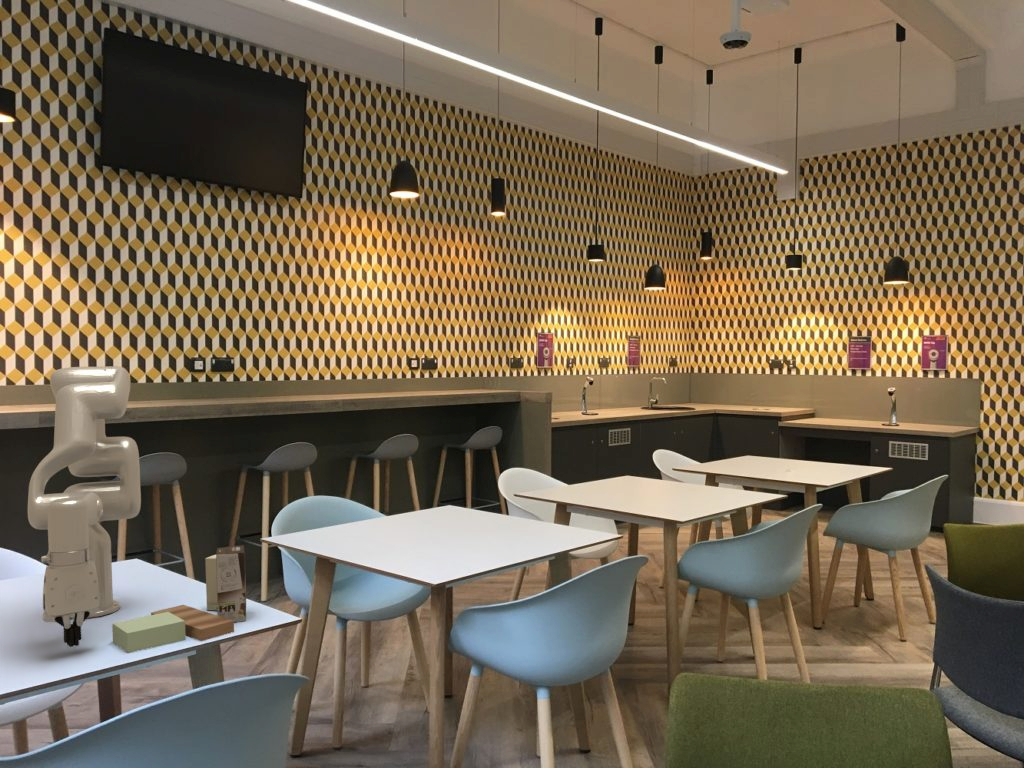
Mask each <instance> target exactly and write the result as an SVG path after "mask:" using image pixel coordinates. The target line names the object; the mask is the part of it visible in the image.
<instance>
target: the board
mask: <svg viewBox="0 0 1024 768" xmlns="http://www.w3.org/2000/svg"><path fill="white" fill-rule="evenodd" d="M164 612H170V613H171V614H173V615H175V616H177V617H179V618H181V619H182V620H184V621H185V637H189V638H191V639H193V640H197V641H200V642H203V641H207V640H211V639H213V638H217V637H220V636H225V635H228V634H231V632H232V633H235V622H234V620H230V619H227V618H224V617H221V616H218V614H214V613H211V612H207V611H204V610H201V609H197V608H194V607H192V606H188V605H186V604H185V605H184V604H182V605H181V604H180V605H177V606H173V607H172V606H171V607H168V608H164V609H159V610H155V611H153V612H152V611H151V612H150V615H155V614H159V613H164ZM227 633H228V634H227ZM224 634H225V635H224Z"/></svg>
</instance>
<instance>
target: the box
mask: <svg viewBox="0 0 1024 768" xmlns="http://www.w3.org/2000/svg"><path fill="white" fill-rule="evenodd" d="M204 560H205V589H206V593H205V594H206V610H207V611H218V601H217V570H216V554H214V555H213V554H212V555H211V556H208V557H205V558H204Z"/></svg>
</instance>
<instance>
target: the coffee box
mask: <svg viewBox="0 0 1024 768" xmlns="http://www.w3.org/2000/svg"><path fill="white" fill-rule="evenodd" d="M215 555H216V570H217V601H218V610H217V615H218V616H221V617H224V618H227V619H230V620H234V623H239V622H240V623H241V622H246V620H247V582H246V581H247V579H246V577H247V576H246V575H247V574H246V553H245V545H235V546H234V545H231V546H225V547H217V548H216V554H215Z"/></svg>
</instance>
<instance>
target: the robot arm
mask: <svg viewBox="0 0 1024 768" xmlns="http://www.w3.org/2000/svg"><path fill="white" fill-rule="evenodd" d="M49 377H50V378H49V384H50V389H51V391H52V394H53V397H54V399H55V407H54V408H55V409H54V410H55V412H54V433H53V434H54V435H53V448H52V449H51V451H50V452H49V453H48V454H47V455H45V457H43V459H42V460H41V461H40V462H39V463H38V465H37V466H36V468H35V469H34V470H33V472H32V475H31V478H30V481H29V485H28V497H27V519H28V522H29V524H30V526H31V527H32V528H34V529H35V530H47V537H48V539H47V541H48V551H47V554H46V555H45V554H44V555H42V556H41V557H40V561H41V563H42V564H43V563H47V564H48V565H47V566H45V571H44V578H43V587H42V590H43V591H42V608H43V611H44V612H43V615H42V621H44V622H45V623H57V624H59V625H60V626H61V627H63V642H64V644H67V646H69V648H73V647H74V646H75V647H78V646H79V645H80V641H81V640H82V626H83V624H84V622H86V621H87V619H88V618H95V617H102V616H106V615H109V614H113V613H115V612H117V611H119V609H120V608H121V603H120V602H119V601H117V600H114V592H113V591H114V590H113V571H112V570H113V565H112V541H111V540H112V539H111V537H110V534H109V532H108V531H107V530H106V529H105V528H104V527H103V526H102V525H101V524H100V522H104V521H117V520H119V521H120V520H128V519H129V520H130V519H133V518H136V517H137V516H138V515H139V513H140V511H141V507H142V505H141V504H142V493H141V470H140V469H141V468H140V467H141V466H140V453H139V449H138V448H139V447H138V445H137V442H136V440H135V439H133V438H132V437H130V436H107V435H106V421H105V420H109V419H114V420H115V419H120V418H122V417H123V416H124V415H125V413H126V411H127V407H128V402H129V397H130V393H131V378H130V374H129V372H128V370H127V369H126V368H125V367H122V366H119V365H118V366H111V365H109V366H107V365H106V366H73V367H71V366H70V367H62V368H59V369H56V370H54V371H52V373H51V375H50V376H49ZM67 467H68V470H69V472H70V474H71V475H72V476H74V477H79V478H91V477H92V478H93V477H108V476H112V477H113V476H115V477H116V476H117V477H118V478H119V479H120V480H112V481H111V480H110V481H94V482H93V481H91V482H81V483H79V482H78V483H75V484H73V485H70V486H68V487H66V489H65V490H64V491H63V492H61V493H60V492H59V493H46V494H45V488H46V485H47V483H48V482H49V480H50V478H52V477H53V476H54V475H55V474H56V473H58V472H60V471H61V470H63V469H65V468H67ZM70 619H73V620H72V623H71V620H70Z"/></svg>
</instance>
